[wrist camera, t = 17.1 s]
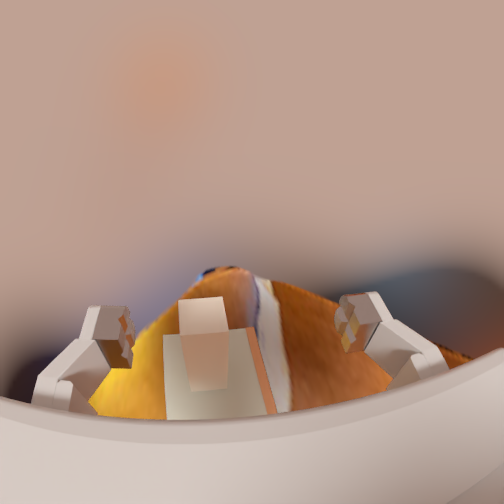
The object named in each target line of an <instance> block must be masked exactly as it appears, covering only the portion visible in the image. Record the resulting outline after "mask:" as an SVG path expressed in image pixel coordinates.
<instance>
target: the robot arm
mask: <svg viewBox="0 0 504 504" xmlns="http://www.w3.org/2000/svg"><path fill="white" fill-rule="evenodd" d="M339 303H340V305H341V306H340V307H339V308H338V309H337V310H336V312H335V315H334V323H335V328H336V330H337V332H338V333H339V334H341V335H342V339H341V343H342V345H343V347H344V350H345V352H346V353H353V352H359V351H364V352H365V353H366V354H367V355H368V356H369V357H370V358H371V359H373V360H374V361H375V362H376V363H377V364H378V365H379V366H380V367H381V368H382V369H383V370H385V371H386V372H387V373H388V374H389V375H390V376H391V377H392V378H393V380H392V381H391V382H390V384H389V385H388V386H387V388H386V390H387V391H384V392H381V393H377V394H373V395H369V396H365V397H361V398H357V399H353V400H349V401H344V402H340V403H335V404H330V405H325V406H320V407H315V408H309V409H303V410H297V411H290V412H283V413H276V414H268V415H259V416H249V417H237V418H222V419H199V420H156V419H134V418H120V417H109V416H99V415H97V412H96V411H95V409H94V408H93V407H92V406H91V405H90V404H89V403H88V400H89V399H90V398H91V396H92V395H93V394H94V392H95V391H96V389H97V388H98V387H99V385H100V384H101V383H102V381H103V380H104V379H105V377H106V376H107V374H108V373H109V372H110V370H111V368H125V369H131V368H132V360H133V352H132V350H131V348H132V347H133V346H134V345H135V327H134V323H133V321H132V320H131V319H130V318H129V317H130V311H129V309H128V307H127V306H94V305H91V306H90V307H89V308H88V310H87V314H86V317H85V320H84V324H83V327H82V330H81V334H80V337H79V339H75V340H74V341H73V342H72V343H71V344H70V345H69V346H68V347H67V348H66V349H65V350H64V351H63V352H62V353H61V354H59V355H58V356H57V357H56V358H55V359H54V361H52V362H51V363H50V364H49V365H48V366H47V367H46V368H45V369H44V370H43V371H42V373H40V374H39V375H38V378H37V382H36V386H35V389H34V393H33V398H32V402H31V404H28V403H24V402H20V401H16V400H12V399H8V398H4V397H1V396H0V504H504V348H498V349H495V350H493V351H491V352H490V353H487V354H485V355H483V356H481V357H479V358H476V359H474V360H472V361H469V362H467V363H465V364H462V365H460V366H457V367H455V368H452V369H449V367H448V365H447V363H446V361H445V360H444V358H443V356H442V354H441V352H440V351H439V349H438V347H437V346H435V345H434V344H432V343H431V342H429V341H428V340H426V339H425V338H423V337H422V336H421V335H419V334H418V333H416V332H415V331H413V330H412V329H410V328H409V327H407V326H405V325H404V324H403V323H401V322H400V321H398V320H393V318H392V316H391V314H390V313H389V311H388V309H387V308H386V306H385V304H384V302H383V300H382V299H381V297H380V295H379V294H378V293H377V292H368V293H358V294H349V295H343V296H342V297H341V299H340V301H339Z"/></svg>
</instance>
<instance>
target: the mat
mask: <svg viewBox="0 0 504 504" xmlns="http://www.w3.org/2000/svg"><path fill="white" fill-rule="evenodd" d="M163 358H164V381H165V398H166V412H167V420H199V419H222V418H237V417H249V416H259V415H268V414H276V413H277V409H276V406H275V402H274V399H273V395H272V392H271V388H270V384H269V381H268V377H267V374H266V370H265V366H264V363H263V359H262V356H261V352H260V348H259V345H258V341H257V337H256V334H255V330H254V327H246V328H241V329H231V330H229V348H228V386H227V389H218V390H208V391H197V392H191V389H190V384H189V380H188V375H187V370H186V365H185V360H184V355H183V350H182V344H181V339H180V334H171V335H163Z"/></svg>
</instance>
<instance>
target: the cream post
mask: <svg viewBox="0 0 504 504" xmlns="http://www.w3.org/2000/svg"><path fill="white" fill-rule="evenodd" d="M178 307H179V328H180V339H181V344H182V350H183V355H184V360H185V365H186V370H187V375H188V380H189V384H190V389H191V392H197V391H208V390H218V389H227V386H228V348H229V329H228V324H227V319H226V313H225V308H224V303H223V297H211V298H198V299H184V300H178Z"/></svg>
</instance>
